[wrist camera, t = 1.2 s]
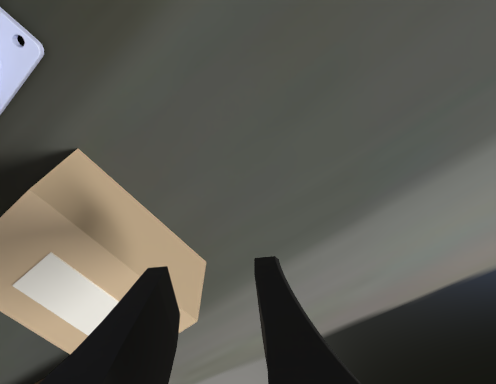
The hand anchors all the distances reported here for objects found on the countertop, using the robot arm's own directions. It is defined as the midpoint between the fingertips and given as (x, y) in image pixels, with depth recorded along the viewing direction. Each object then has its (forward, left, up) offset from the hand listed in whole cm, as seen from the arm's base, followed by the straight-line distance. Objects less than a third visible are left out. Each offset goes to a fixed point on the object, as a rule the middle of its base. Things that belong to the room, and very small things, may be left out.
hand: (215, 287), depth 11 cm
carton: (-1, -9, -10) cm, 13 cm away
